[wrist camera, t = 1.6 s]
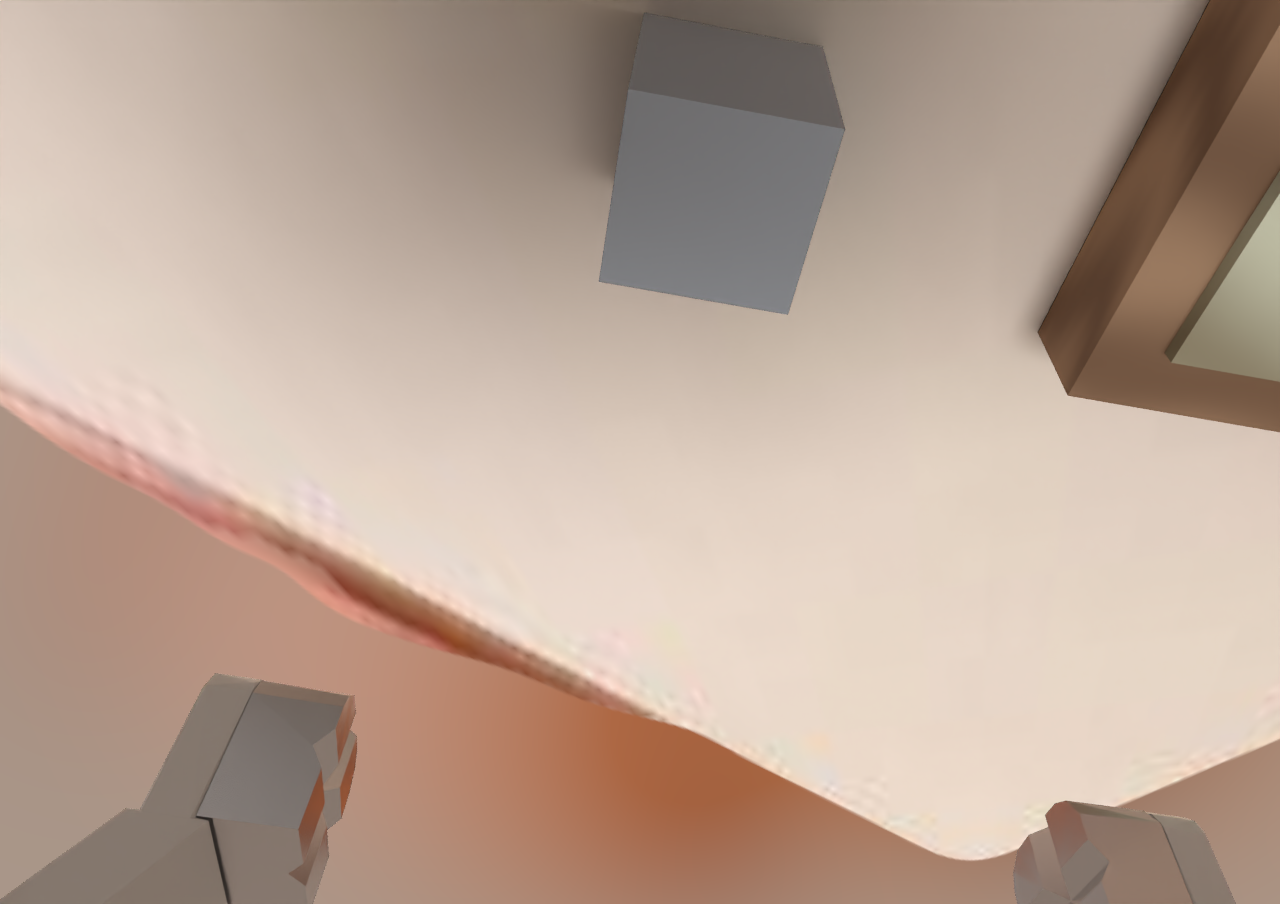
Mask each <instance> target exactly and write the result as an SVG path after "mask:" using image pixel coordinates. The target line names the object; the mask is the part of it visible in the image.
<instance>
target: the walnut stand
mask: <svg viewBox="0 0 1280 904" xmlns="http://www.w3.org/2000/svg"><path fill="white" fill-rule="evenodd" d="M1038 334H1039V336H1040V338H1041V340H1042V342H1043V344H1044V346H1045V348H1046V351H1047V353H1048V355H1049V357H1050V359H1051V361H1052V363H1053V365H1054V367H1055V370H1056V372H1057V374H1058V376H1059V378H1060V380H1061V382H1062V384H1063V386H1064V389H1065V391H1066V393H1067V395H1068V396H1073V397H1079V398H1085V399H1091V400H1097V401H1102V402H1108V403H1114V404H1120V405H1126V406H1131V407H1137V408H1143V409H1149V410H1154V411H1160V412H1166V413H1172V414H1178V415H1183V416H1189V417H1195V418H1201V419H1206V420H1212V421H1218V422H1224V423H1230V424H1235V425H1241V426H1247V427H1253V428H1259V429H1264V430H1270V431H1276V432H1280V0H1210V2H1209V3H1208V5H1207V7H1206V9H1205V11H1204V13H1203V15H1202V17H1201V19H1200V21H1199V23H1198V25H1197V27H1196V29H1195V30H1194V32H1193V34H1192V36H1191V38H1190V40H1189V42H1188V44H1187V46H1186V48H1185V50H1184V52H1183V54H1182V56H1181V57H1180V59H1179V61H1178V63H1177V65H1176V67H1175V69H1174V71H1173V73H1172V75H1171V77H1170V79H1169V81H1168V83H1167V85H1166V86H1165V88H1164V90H1163V92H1162V94H1161V96H1160V98H1159V100H1158V102H1157V104H1156V106H1155V108H1154V110H1153V112H1152V113H1151V115H1150V117H1149V119H1148V121H1147V123H1146V125H1145V127H1144V129H1143V131H1142V133H1141V135H1140V137H1139V139H1138V140H1137V142H1136V144H1135V146H1134V148H1133V150H1132V152H1131V154H1130V156H1129V158H1128V160H1127V162H1126V164H1125V166H1124V167H1123V169H1122V171H1121V173H1120V175H1119V177H1118V179H1117V181H1116V183H1115V185H1114V187H1113V189H1112V191H1111V193H1110V194H1109V196H1108V198H1107V200H1106V202H1105V204H1104V206H1103V208H1102V210H1101V212H1100V214H1099V216H1098V218H1097V220H1096V221H1095V223H1094V225H1093V227H1092V229H1091V231H1090V233H1089V235H1088V237H1087V239H1086V241H1085V243H1084V245H1083V247H1082V248H1081V250H1080V252H1079V254H1078V256H1077V258H1076V260H1075V262H1074V264H1073V266H1072V268H1071V270H1070V272H1069V274H1068V276H1067V277H1066V279H1065V281H1064V283H1063V285H1062V287H1061V289H1060V291H1059V293H1058V295H1057V297H1056V299H1055V301H1054V303H1053V304H1052V306H1051V308H1050V310H1049V312H1048V314H1047V316H1046V318H1045V320H1044V322H1043V324H1042V326H1041V328H1040V330H1039V331H1038Z"/></svg>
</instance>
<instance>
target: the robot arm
mask: <svg viewBox="0 0 1280 904" xmlns="http://www.w3.org/2000/svg"><path fill="white" fill-rule="evenodd" d="M355 714H356V708H355V697H354V695H350V694H344V693H337V692H331V691H324V690H318V689H312V688H306V687H299V686H293V685H287V684H279V683H274V682H267V681H264V680H259V679H252V678H245V677H238V676H231V675H225V674H218V673H215V674H214V676H212V678H211V679H210V680H209V681H208V682H207V683H206V684H205V685H204V687H203V688H202V690H201V692H200V694H199V696H198V698H197V700H196V702H195V704H194V705H193V708H192V709H191V711H190V713H189V715H188V717H187V719H186V721H185V723H184V725H183V727H182V729H181V731H180V733H179V735H178V737H177V739H176V740H175V743H174V745H173V746H172V748H171V750H170V752H169V754H168V756H167V758H166V760H165V762H164V764H163V766H162V768H161V769H160V772H159V773H158V775H157V777H156V779H155V781H154V783H153V785H152V787H151V789H150V791H149V793H148V795H147V797H146V799H145V801H144V803H143V805H142V807H141V808H140V810H138V809H128V808H125V809H124V810H122V811H121V812H120V813H118V814H117V815H116V816H114V817H113V818H111V819H110V820H109V821H107V822H106V823H105V824H103V825H102V826H100V827H99V828H98V829H96V830H95V831H93V832H92V833H91V834H89V835H88V836H87V837H85V838H84V839H83V840H81V841H80V842H78V843H77V844H76V845H74V846H73V847H71V848H70V849H69V850H67V851H66V852H65V853H63V854H62V855H61V856H59V857H58V858H56V859H55V860H54V861H52V862H51V863H49V864H48V865H47V866H46V867H44V868H43V869H42V870H40V871H39V872H37V873H36V874H34V875H33V876H32V877H30V878H29V879H27V880H26V881H25V882H23V883H22V884H21V885H19V886H18V887H16V888H15V889H14V890H12V891H11V892H10V893H8V894H7V895H6V896H4V897H3V898H1V899H0V904H313V902H314V899H315V896H316V893H317V890H318V887H319V884H320V881H321V878H322V875H323V872H324V869H325V866H326V863H327V860H328V857H329V852H328V836H327V830H328V829H329V828H330V827H331V826H333V825H334V824H335V823H336V822H337V821H339V820H340V819H341V818H342V815H343V812H344V809H345V805H346V802H347V799H348V796H349V793H350V788H351V784H352V779H353V775H354V770H355V763H356V755H357V736H356V735H355V734H354V733H353V732H352V731H351V730H350V729H351V726H352V723H353V719H354V717H355ZM1045 816H1046V820H1047V823H1048V828H1045V829H1043V830H1040V831H1038V832H1035V833H1033V834H1030V835H1028V837H1027V838H1026V840H1025V841H1024V842H1023V844H1022V845H1021V847H1020V848H1019V849H1018V851H1017V856H1016V862H1015V867H1014V889H1015V896H1016V900H1017V904H1236V903H1235V901H1234V898H1233V896H1232V894H1231V891H1230V889H1229V887H1228V885H1227V882H1226V880H1225V878H1224V875H1223V873H1222V871H1221V869H1220V866H1219V864H1218V862H1217V860H1216V857H1215V855H1214V853H1213V850H1212V848H1211V846H1210V844H1209V841H1208V839H1207V837H1206V835H1205V833H1204V831H1203V830H1202V829H1201V828H1200V827H1199V825H1198V824H1197V823H1196V822H1195V821H1193V820H1190V819H1187V818H1184V817H1177V816H1169V815H1161V814H1154V813H1146V812H1145V811H1140V810H1133V809H1126V808H1118V807H1110V806H1103V805H1095V804H1088V803H1080V802H1072V801H1063V802H1059V803H1055V804H1054V805H1053V806H1052V808H1051V809H1050V810H1049V811H1048V812H1047V813H1046V815H1045Z"/></svg>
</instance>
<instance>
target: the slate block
mask: <svg viewBox="0 0 1280 904" xmlns="http://www.w3.org/2000/svg"><path fill="white" fill-rule="evenodd" d="M844 131H845V128H844V124H843V120H842V116H841V113H840V109H839V105H838V101H837V98H836V94H835V90H834V86H833V83H832V79H831V75H830V71H829V68H828V64H827V60H826V56H825V53H824V49H823V47H821V46H816V45H810V44H805V43H800V42H795V41H789V40H784V39H779V38H774V37H768V36H763V35H758V34H753V33H748V32H742V31H737V30H732V29H727V28H721V27H716V26H711V25H706V24H700V23H695V22H690V21H685V20H679V19H674V18H669V17H664V16H658V15H653V14H648V13H644V16H643V21H642V25H641V30H640V35H639V40H638V45H637V49H636V54H635V59H634V64H633V68H632V73H631V78H630V83H629V87H628V93H627V100H626V107H625V113H624V120H623V126H622V133H621V139H620V146H619V152H618V159H617V166H616V172H615V179H614V185H613V192H612V198H611V205H610V212H609V218H608V225H607V231H606V238H605V244H604V251H603V257H602V264H601V271H600V277H599V282H604V283H610V284H615V285H621V286H627V287H633V288H638V289H644V290H650V291H655V292H661V293H667V294H673V295H678V296H684V297H690V298H695V299H701V300H707V301H713V302H718V303H724V304H730V305H735V306H741V307H747V308H752V309H758V310H764V311H770V312H775V313H781V314H787V315H788V312H789V309H790V306H791V303H792V299H793V296H794V293H795V290H796V287H797V283H798V280H799V277H800V274H801V270H802V267H803V264H804V261H805V257H806V254H807V251H808V248H809V244H810V241H811V238H812V235H813V231H814V228H815V225H816V222H817V218H818V215H819V212H820V209H821V205H822V202H823V199H824V196H825V192H826V189H827V186H828V183H829V180H830V176H831V173H832V170H833V167H834V163H835V160H836V157H837V154H838V150H839V147H840V144H841V141H842V137H843V134H844Z"/></svg>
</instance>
